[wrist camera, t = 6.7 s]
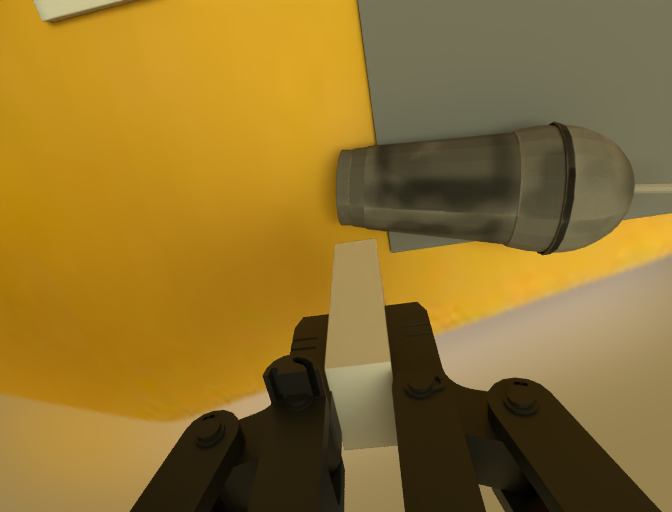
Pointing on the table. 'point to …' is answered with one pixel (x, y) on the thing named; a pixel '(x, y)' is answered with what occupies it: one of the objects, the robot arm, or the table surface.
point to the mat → (524, 77)
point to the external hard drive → (71, 8)
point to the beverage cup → (493, 188)
